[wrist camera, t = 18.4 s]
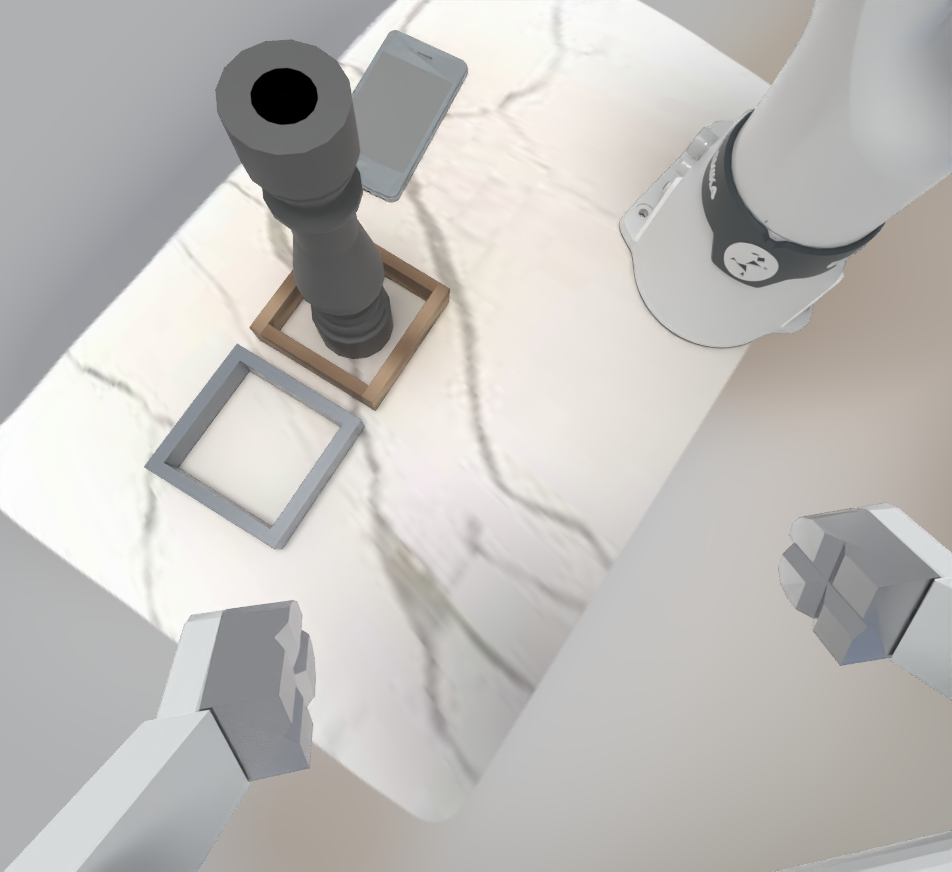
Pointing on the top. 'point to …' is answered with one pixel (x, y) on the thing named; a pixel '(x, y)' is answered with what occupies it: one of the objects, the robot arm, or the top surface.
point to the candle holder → (310, 182)
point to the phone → (401, 109)
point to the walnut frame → (370, 395)
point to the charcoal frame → (207, 409)
